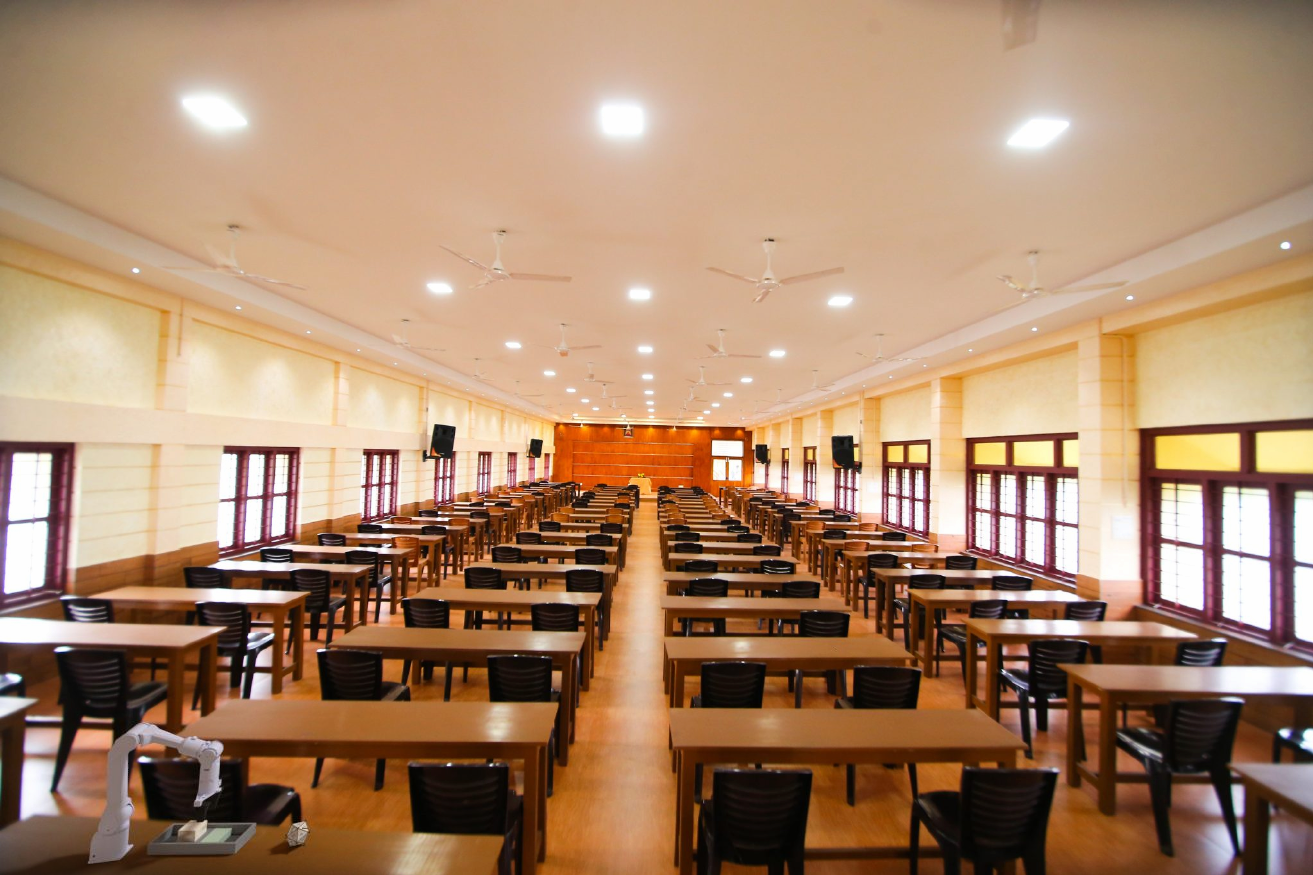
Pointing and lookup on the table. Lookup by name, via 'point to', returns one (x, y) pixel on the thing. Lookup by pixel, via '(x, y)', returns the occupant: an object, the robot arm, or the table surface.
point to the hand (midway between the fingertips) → (206, 815)
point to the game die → (297, 833)
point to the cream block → (192, 831)
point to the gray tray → (203, 840)
